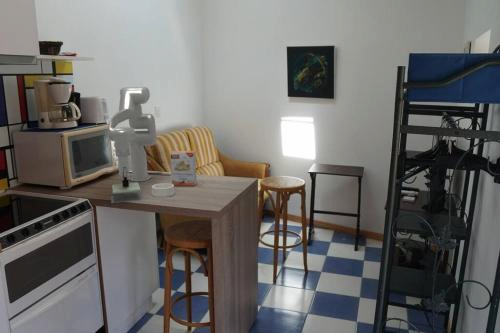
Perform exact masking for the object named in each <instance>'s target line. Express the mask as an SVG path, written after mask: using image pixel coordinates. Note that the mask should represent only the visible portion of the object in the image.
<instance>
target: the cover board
mask: <svg viewBox="0 0 500 333" xmlns="http://www.w3.org/2000/svg"><path fill="white" fill-rule="evenodd" d="M121 180H123V177H122V176H121ZM122 183H123V182H122V181H121V183H118V184H116V183H115V184H112V194H114V195H115V194H123V193H124V194H125V193H133V192H140V191H141V187H140V185H139V181H134V182H129V187H123V184H122Z"/></svg>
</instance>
